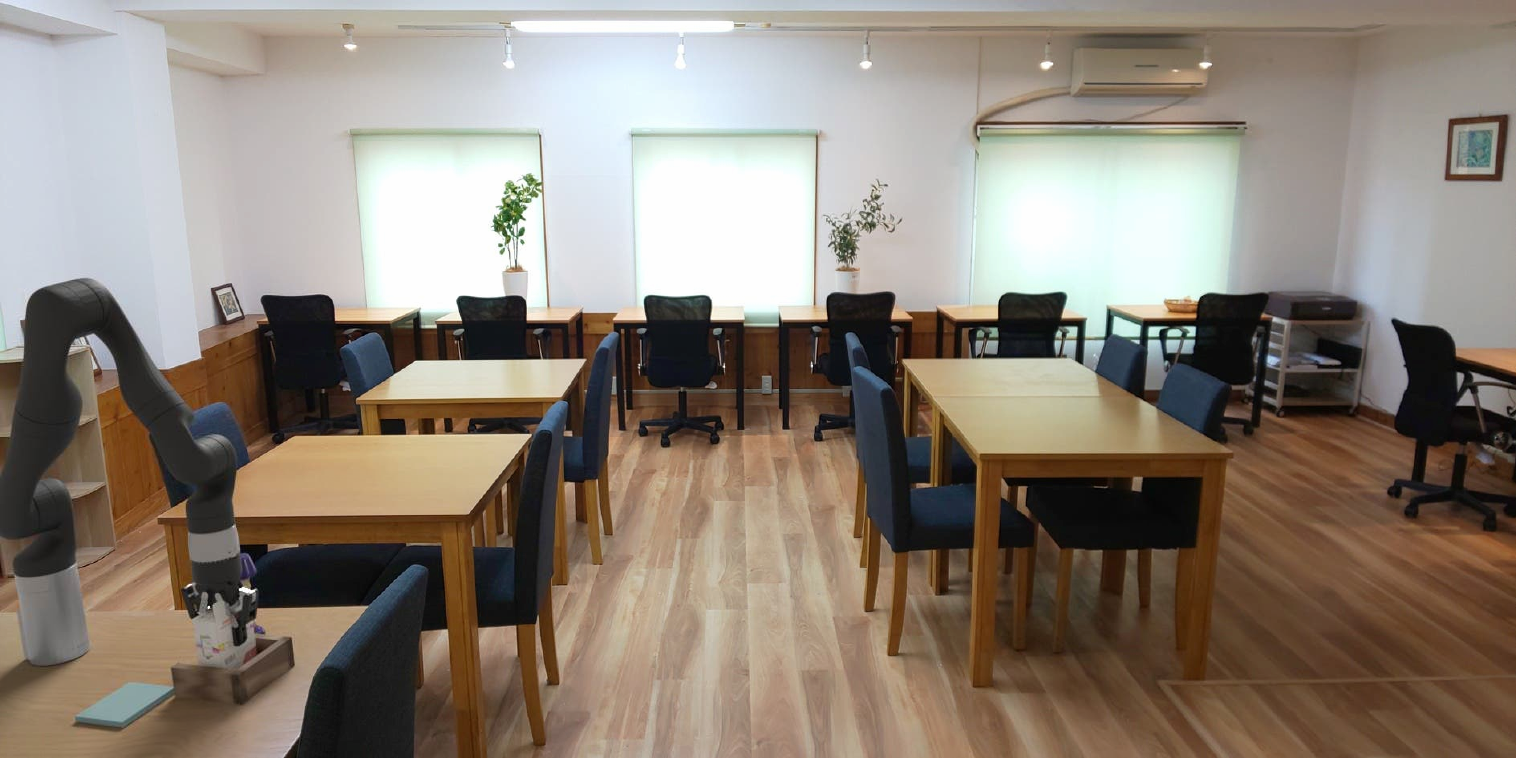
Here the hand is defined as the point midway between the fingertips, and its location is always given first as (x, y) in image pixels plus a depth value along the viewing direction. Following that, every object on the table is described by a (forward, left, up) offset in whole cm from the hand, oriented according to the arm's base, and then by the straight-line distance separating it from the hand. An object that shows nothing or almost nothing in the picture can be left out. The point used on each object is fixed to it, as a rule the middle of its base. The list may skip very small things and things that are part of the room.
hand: (226, 642), depth 169 cm
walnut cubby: (+1, 0, -7) cm, 7 cm away
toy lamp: (-8, +15, -7) cm, 18 cm away
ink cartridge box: (0, 0, -6) cm, 6 cm away
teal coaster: (-11, -11, -7) cm, 17 cm away
